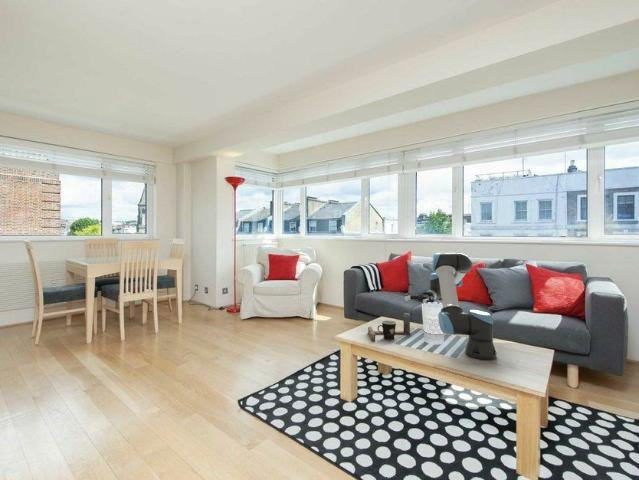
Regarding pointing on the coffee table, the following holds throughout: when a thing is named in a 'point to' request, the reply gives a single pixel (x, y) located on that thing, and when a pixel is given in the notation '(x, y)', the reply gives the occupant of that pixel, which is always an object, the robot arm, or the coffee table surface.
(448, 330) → the robot arm
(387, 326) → the coffee mug
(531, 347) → the coffee table surface
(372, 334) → the brown uneven shapes
